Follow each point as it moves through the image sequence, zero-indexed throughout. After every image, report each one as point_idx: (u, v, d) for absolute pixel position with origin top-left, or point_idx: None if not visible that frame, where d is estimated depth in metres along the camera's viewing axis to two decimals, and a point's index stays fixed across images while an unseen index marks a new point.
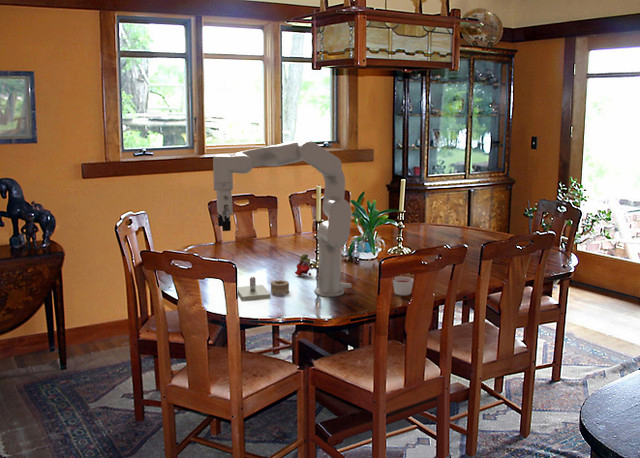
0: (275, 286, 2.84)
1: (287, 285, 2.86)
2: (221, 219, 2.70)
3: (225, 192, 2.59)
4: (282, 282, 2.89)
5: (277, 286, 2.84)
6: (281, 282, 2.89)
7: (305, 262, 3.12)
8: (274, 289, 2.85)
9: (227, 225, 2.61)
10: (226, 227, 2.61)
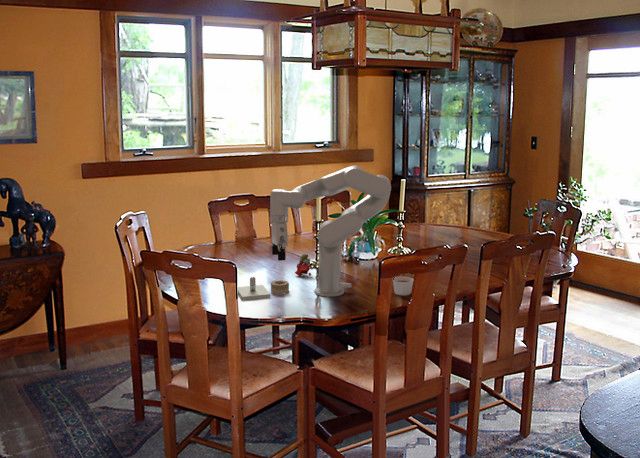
0: (275, 286, 2.84)
1: (287, 285, 2.86)
2: (275, 248, 2.88)
3: (281, 224, 2.77)
4: (282, 282, 2.89)
5: (277, 286, 2.84)
6: (281, 282, 2.89)
7: (305, 262, 3.12)
8: (274, 289, 2.85)
9: (282, 255, 2.79)
10: (281, 257, 2.79)
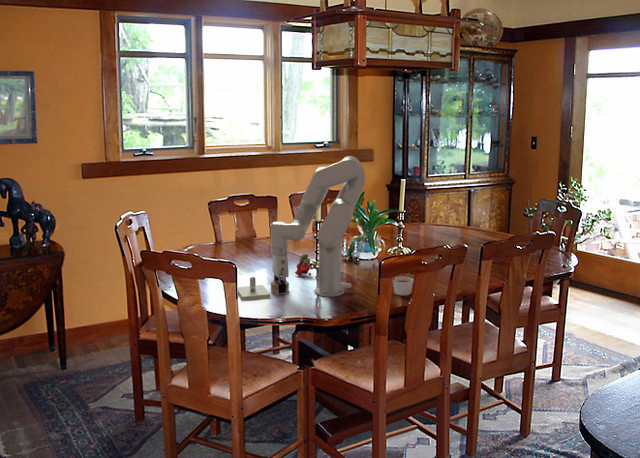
0: (275, 286, 2.84)
1: (287, 285, 2.86)
2: None
3: (282, 257, 2.80)
4: None
5: (277, 286, 2.84)
6: None
7: (305, 262, 3.12)
8: (274, 289, 2.85)
9: (283, 288, 2.83)
10: (282, 289, 2.83)
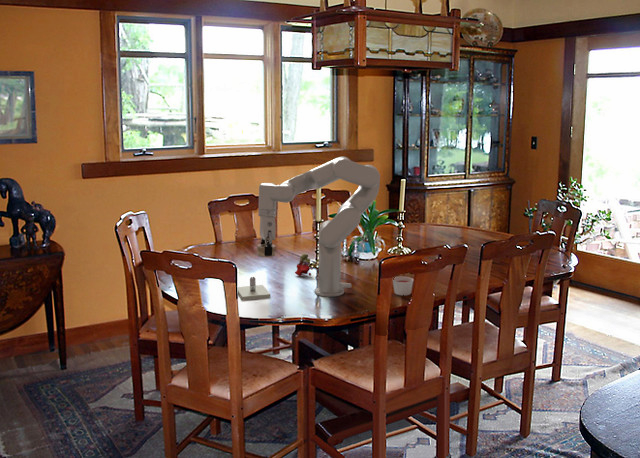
0: (261, 249, 2.79)
1: (273, 248, 2.81)
2: None
3: (269, 219, 2.75)
4: None
5: (263, 249, 2.79)
6: None
7: (305, 262, 3.12)
8: (260, 252, 2.80)
9: (269, 250, 2.78)
10: (268, 252, 2.78)
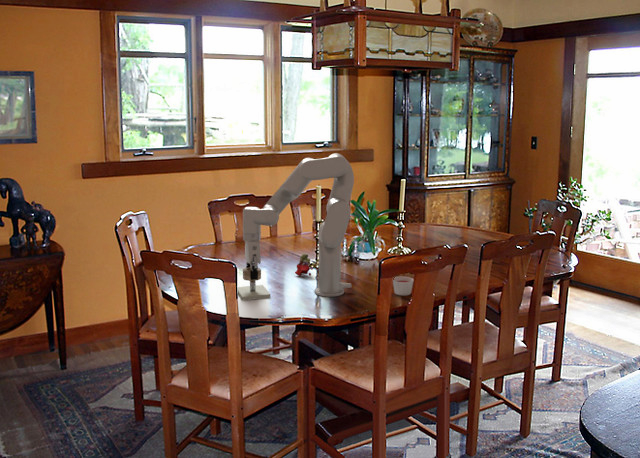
0: (247, 272, 2.79)
1: (259, 272, 2.81)
2: None
3: (254, 242, 2.75)
4: None
5: (249, 272, 2.79)
6: None
7: (305, 262, 3.12)
8: (246, 276, 2.80)
9: (255, 274, 2.78)
10: (254, 276, 2.78)
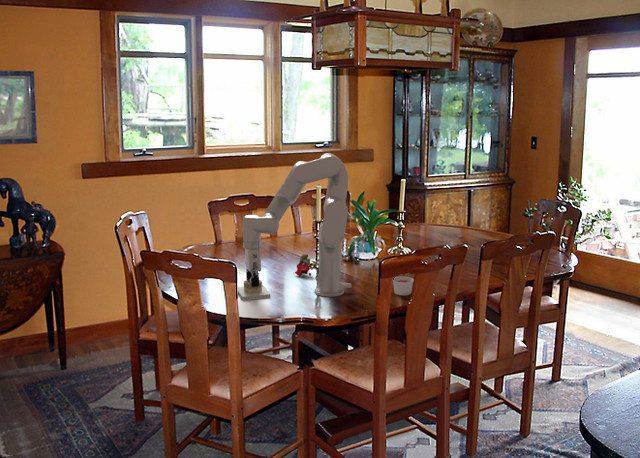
0: (248, 285, 2.80)
1: (260, 284, 2.82)
2: (249, 274, 2.87)
3: (254, 251, 2.76)
4: None
5: (250, 285, 2.80)
6: None
7: (305, 262, 3.12)
8: (247, 288, 2.81)
9: (256, 281, 2.77)
10: (255, 283, 2.78)
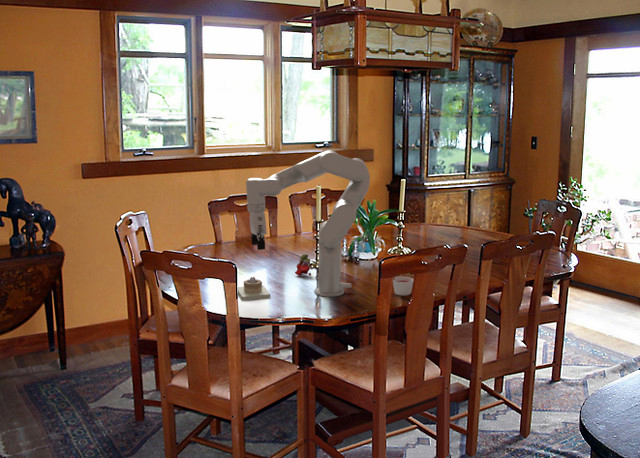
0: (248, 285, 2.80)
1: (260, 284, 2.82)
2: (254, 238, 2.86)
3: (259, 213, 2.75)
4: None
5: (250, 285, 2.80)
6: None
7: (305, 262, 3.12)
8: (247, 288, 2.81)
9: (262, 244, 2.77)
10: (261, 246, 2.77)
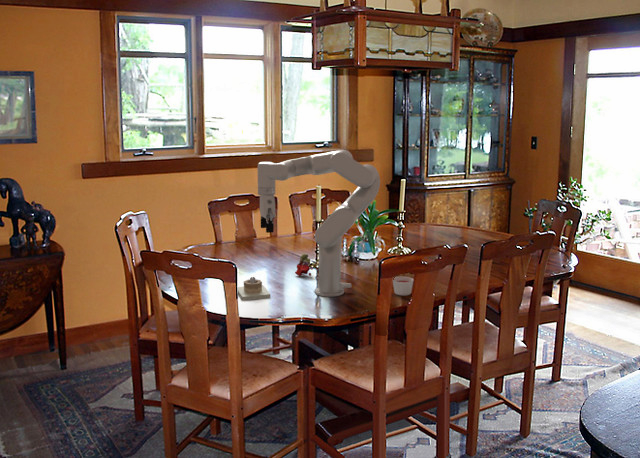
0: (248, 285, 2.80)
1: (260, 284, 2.82)
2: (263, 221, 2.90)
3: (269, 196, 2.79)
4: None
5: (250, 285, 2.80)
6: None
7: (305, 262, 3.12)
8: (247, 288, 2.81)
9: (270, 227, 2.81)
10: (269, 229, 2.81)
